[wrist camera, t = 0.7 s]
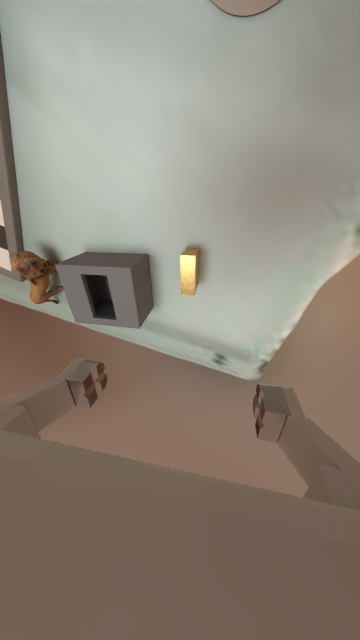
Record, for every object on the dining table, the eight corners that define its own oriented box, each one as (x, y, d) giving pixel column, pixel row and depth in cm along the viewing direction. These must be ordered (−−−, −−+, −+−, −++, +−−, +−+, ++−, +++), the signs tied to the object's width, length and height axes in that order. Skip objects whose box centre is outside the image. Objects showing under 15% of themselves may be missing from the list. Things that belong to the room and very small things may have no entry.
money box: (85, 252, 41) (54, 264, 34) (148, 254, 39) (130, 267, 32) (98, 302, 48) (75, 322, 40) (153, 306, 45) (139, 328, 38)
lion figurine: (37, 241, 42) (-3, 251, 35) (60, 247, 42) (24, 258, 34) (50, 300, 50) (20, 318, 43) (69, 305, 50) (42, 324, 43)
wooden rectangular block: (186, 247, 37) (180, 255, 32) (199, 247, 37) (195, 255, 32) (186, 282, 41) (181, 294, 36) (198, 282, 40) (194, 295, 35)
